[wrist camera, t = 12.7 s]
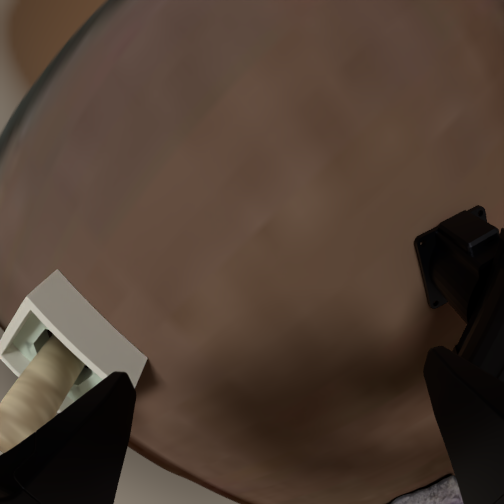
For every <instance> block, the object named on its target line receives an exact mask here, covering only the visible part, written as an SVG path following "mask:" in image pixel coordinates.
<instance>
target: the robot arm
mask: <svg viewBox="0 0 504 504" xmlns="http://www.w3.org/2000/svg"><path fill="white" fill-rule="evenodd" d="M479 211H480V214H479V215H478V212H479ZM422 240H424V242H423V244H421V245H420V242H421V241H422ZM415 246H416V250H417V254H418V258H419V262H420V266H421V270H422V275H423V279H424V284H425V288H426V293H427V298H428V303H429V305H430V307H431V308H433V309H435V308H438V307H440V306H441V305H443V304H445V303H447V302H449V303H450V305H451V306H452V307H453V308H454V309H455V310H456V312H457V313H458V314H459V315H460V316H461V318H462V319H463V320H464V321H465V322H466V324H467V326H466V328H465V330H464V332H463V334H462V336H461V338H460V340H459V342H458V344H457V345H455V347H454V349H453V351H450V350H448V349H447V348H445V347H443V346H438V347H434V348H431V349H430V350H429V352H428V355H427V359H426V362H425V365H424V370H423V373H424V378H425V381H426V385H427V389H428V392H429V396H430V400H431V404H432V408H433V411H434V415H435V418H436V421H437V424H438V426H439V429H440V432H441V435H442V437H443V440H444V443H445V446H446V449H447V452H448V455H449V458H450V461H451V464H452V467H453V470H454V473H455V476H456V480H457V483H458V486H459V490H460V493H461V497H462V500H463V504H504V228H502V229H501V232H500V234H499V229H498V228H496V227H494V226H493V225H491V224H489V223H487V219H486V212H485V209H484V208H483V207H482V206H479V205H478V206H475V207H473V208H472V209H470V210H468V211H466V210H464V211H462V212H460V213H458V214H456V215H454V216H453V217H451V218H449V219H447V220H445V221H443V222H441V223H440V224H439V225H438V226H437V227H435V228H433V229H431V230H429V231H427V232H425V233H423V234H421V235H419V236H417V238H416V239H415ZM435 301H436V302H435ZM434 302H435V303H434ZM135 401H136V391H135V388H134V386H133V384H132V382H131V380H130V378H129V376H128V374H127V373H126V372H119V371H115V372H112V373H111V374H110V375H108V376H107V377H106V378H104V379H103V380H102V381H101V382H99V383H98V384H97V385H95V386H94V387H93V388H92V389H90V390H89V391H88V392H86V393H85V394H84V395H82V396H81V397H80V398H78V399H77V400H76V401H75V402H73V403H72V404H71V405H69V406H68V407H67V408H65V409H64V410H63V411H62V412H60V413H59V414H58V415H56V416H55V417H54V418H52V419H51V420H50V421H48V422H47V423H46V424H44V425H43V426H42V427H40V428H39V429H38V430H37V431H36V432H34V433H32V434H31V435H30V436H29V437H27V438H26V439H24V440H23V441H22V442H20V443H19V444H17V445H16V446H14V447H13V448H11V449H10V450H8V451H7V452H5V453H3V454H2V455H0V504H113V503H114V499H115V494H116V490H117V486H118V482H119V478H120V474H121V470H122V466H123V462H124V458H125V454H126V450H127V446H128V442H129V438H130V433H131V426H132V420H133V413H134V407H135Z"/></svg>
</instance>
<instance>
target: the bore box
mask: <svg viewBox="0 0 504 504" xmlns="http://www.w3.org/2000/svg"><path fill="white" fill-rule="evenodd" d="M47 329H48V330H50V331H51V332H52V333H53V334H54V335H55V336H56V337H57V338H58V339H59V340H60V341H61V342H62V343H63V344H64V345H65V346H66V347H67V348H68V349H69V350H70V351H71V352H72V353H73V354H74V355H76V356H77V357H78V358H79V359H80V360H81V361H82V362H83V363H84V364H85V365H87V366H88V367H89V368H85V367H84V368H83V369H82V371H81V373H80V374H79V376H78V377H77V379H76V381H75V382H74V384H73V386H72V387H71V389H70V391H69V392H68V394H67V396H66V398H65V399H64V401H63V403H62V404H61V406H60V408H59V410H58V411H57V412H58V413H60V412H62V411H63V410H64V409H65V408H67V407H68V406H69V405H71V404H72V403H73V402H75V401H76V400H77V399H78V398H80V397H81V396H82V395H84V394H85V393H86V392H88V391H89V390H90V389H92V388H93V387H94V386H95V385H97V384H98V383H99V382H101V381H102V380H103V379H104V378H106V377H107V376H108V375H110V374H111V373H112V372H115V371H119V372H126V373H127V374H128V376H129V378H130V380H131V382H132V384H133V386H134V388H135V387H136V385H137V382H138V380H139V377H140V375H141V373H142V370H143V368H144V366H145V363H146V361H147V359H148V358H147V357H146V356H145V355H144V354H143V353H141V352H140V351H139V350H138V349H137V348H136V347H135V346H134V345H132V344H131V343H130V342H129V341H128V340H127V339H126V338H125V337H124V336H123V335H122V334H120V333H119V332H118V331H117V330H116V329H115V328H114V327H113V326H112V325H111V324H110V323H109V322H108V321H107V320H106V319H105V318H104V317H103V316H102V315H101V314H100V313H99V312H98V311H97V310H96V309H95V308H94V307H93V306H92V305H91V304H90V303H89V302H88V301H87V300H86V299H85V298H84V297H83V296H82V295H81V294H80V293H79V292H78V291H77V290H76V289H75V288H74V287H73V285H72V284H71V283H70V282H69V281H68V280H67V279H66V278H65V277H64V276H63V275H62V273H61V272H60V271H59V270H58V269H57V270H56V271H55V272H53V273H52V274H51V275H50V276H49V277H48V278H46V279H45V280H44V281H43V282H42V283H41V284H40V285H38V286H37V287H36V288H35V289H34V290H33V291H32V292H31V293H29V294H28V295H27V296H26V298H25V299H24V301H23V303H22V304H21V306H20V307H19V309H18V311H17V312H16V314H15V316H14V317H13V319H12V321H11V322H10V324H9V326H8V327H7V329H6V331H5V333H4V335H3V336H2V338H1V340H0V359H1V360H2V361H3V362H4V363H5V364H6V365H7V366H8V367H9V369H11V370H12V371H13V373H14V374H15V375H17V376H18V377H19V376H20V375H21V374H22V372H23V371H24V370H25V369H26V367H27V366H28V365H29V363H30V362H31V361H32V359H33V358H34V357H35V356H36V354H37V353H38V352H39V351H40V349H41V348H42V347H43V346H44V344H45V343H46V342H47V341H48V339H49V335H48V332H47Z"/></svg>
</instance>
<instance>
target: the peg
mask: <svg viewBox="0 0 504 504" xmlns="http://www.w3.org/2000/svg"><path fill="white" fill-rule="evenodd" d="M84 366H85V364H84V363H83V362H82V361H81V360H80V359H79V358H78V357H77V356H76V355H74V354H73V353H72V352H71V351H70V350H69V349H68V348H67V347H66V346H65V345H64V344H63V343H62V342H61V341H60V340H59V339H58V338H57V337H56V336H55V335H54V334H53V335H52V336H51V337H50V338H49V339H48V341H47V342H46V343H45V344H44V346H43V347H42V348H41V349H40V351H39V352H38V353H37V354H36V356H35V357H34V358H33V359H32V361H31V362H30V363H29V365H28V366H27V367H26V369H25V370H24V371H23V372H22V374H21V375H20V376H19V378H18V379H17V380H16V382H15V383H14V385H13V386H12V387H11V389H10V390H9V391H8V393H7V394H6V396H5V397H4V398H3V400H2V401H1V403H0V451H1V452H3V453H5V452H7V451H8V450H10V449H11V448H13V447H14V446H16V445H17V444H19V443H20V442H22V441H23V440H24V439H26V438H27V437H29V436H30V435H31V434H32V433H34V432H36V431H37V430H38V429H39V428H40V427H42V426H43V425H44V424H46V423H47V422H48V421H50V420H51V419H52V418H54V417H55V415H56V413H57V411H58V410H59V408H60V406H61V404H62V403H63V401H64V399H65V398H66V396H67V394H68V392H69V391H70V389H71V387H72V386H73V384H74V382H75V381H76V379H77V377H78V376H79V374H80V373H81V371H82V369H83V368H84Z"/></svg>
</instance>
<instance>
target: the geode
mask: <svg viewBox="0 0 504 504" xmlns="http://www.w3.org/2000/svg"><path fill="white" fill-rule="evenodd" d="M390 504H463V500H462V497H461V493H460V490H459V486H458V483H457V480H456V477H455V476H449V477H448V478H445V479H443V480H441V481H440V482H438V483H437V484H434V485H432V486H430V487H428V488H425V489H422V490H418V491H415V492H413V493H411V494H406V495H403V496H400V497H398V498H396V499H395V500H394V501H392V502H391V503H390Z"/></svg>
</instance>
